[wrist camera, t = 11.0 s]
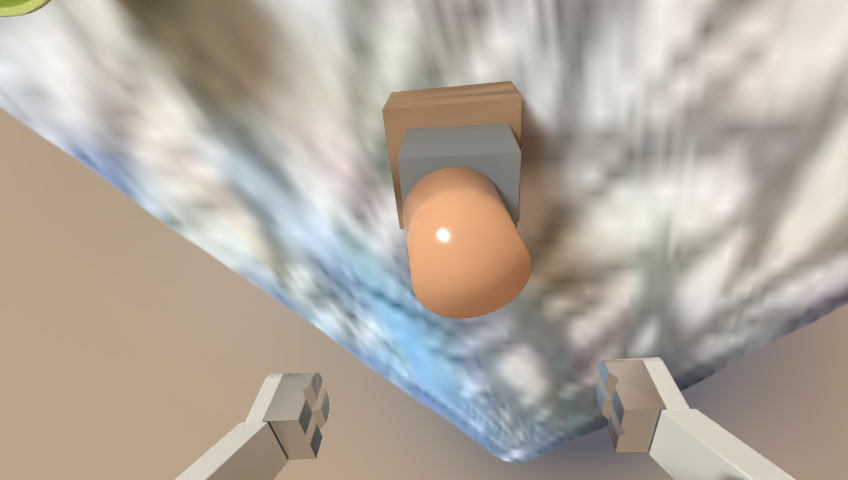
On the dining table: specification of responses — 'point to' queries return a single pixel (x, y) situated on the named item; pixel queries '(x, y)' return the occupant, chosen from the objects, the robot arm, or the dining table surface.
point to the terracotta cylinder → (462, 244)
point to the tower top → (464, 157)
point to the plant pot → (20, 7)
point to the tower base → (448, 116)
